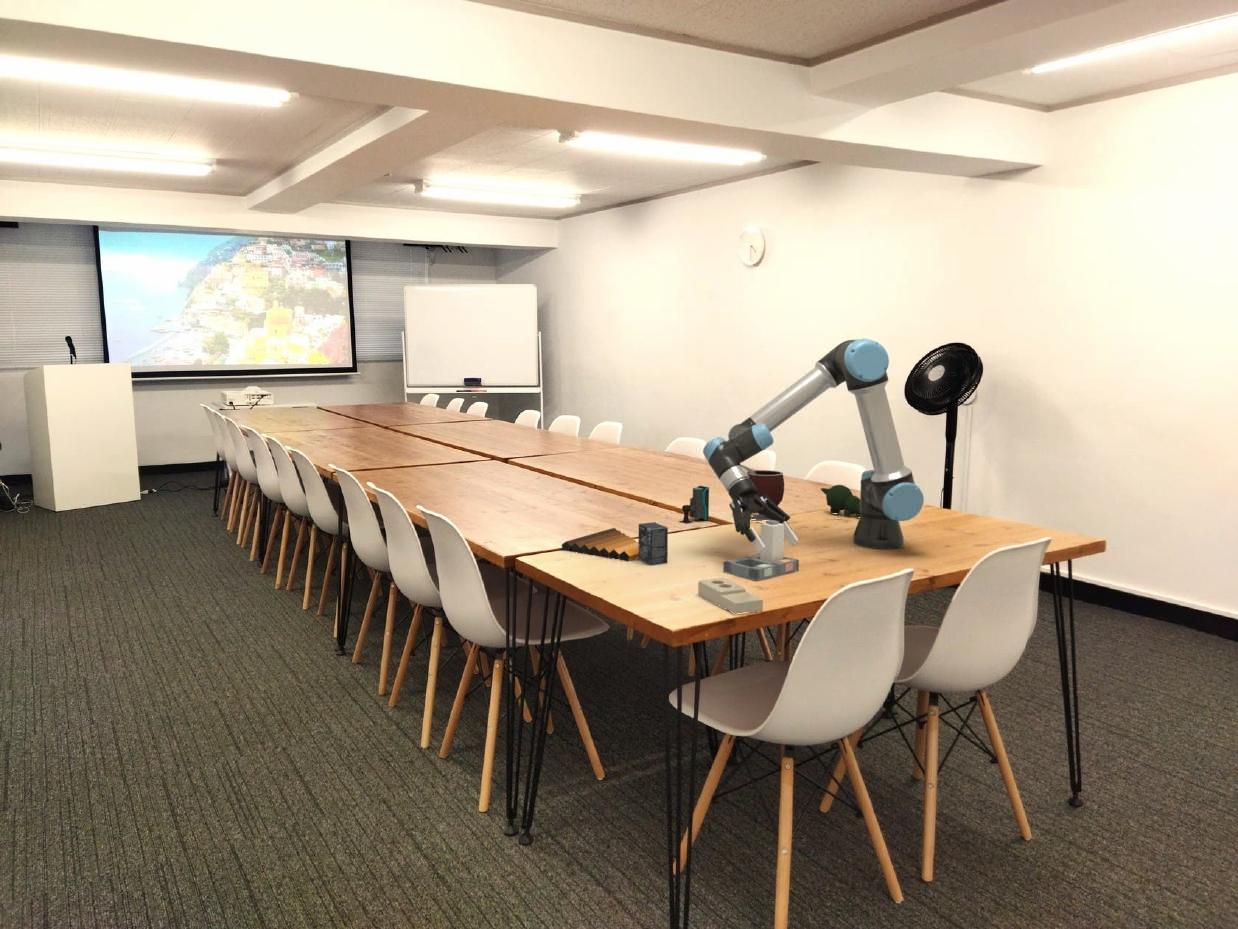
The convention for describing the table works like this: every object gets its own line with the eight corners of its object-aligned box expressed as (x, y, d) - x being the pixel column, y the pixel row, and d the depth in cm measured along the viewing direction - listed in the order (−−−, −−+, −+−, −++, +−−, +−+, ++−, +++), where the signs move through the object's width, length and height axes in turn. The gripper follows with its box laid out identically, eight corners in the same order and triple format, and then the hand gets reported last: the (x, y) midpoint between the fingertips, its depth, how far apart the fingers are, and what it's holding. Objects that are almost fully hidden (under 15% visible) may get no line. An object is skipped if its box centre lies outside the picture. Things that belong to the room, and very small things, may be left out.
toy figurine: (886, 523, 308) (824, 508, 324) (893, 471, 304) (830, 459, 320) (875, 527, 301) (812, 512, 317) (882, 474, 297) (817, 462, 313)
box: (637, 559, 247) (638, 523, 245) (655, 557, 249) (655, 521, 248) (650, 565, 240) (650, 528, 238) (668, 563, 242) (668, 526, 241)
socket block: (765, 562, 243) (765, 551, 243) (799, 570, 234) (799, 559, 234) (723, 572, 233) (723, 560, 232) (757, 581, 223) (757, 569, 223)
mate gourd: (776, 516, 312) (777, 461, 310) (788, 523, 299) (790, 466, 296) (734, 517, 310) (736, 462, 308) (745, 524, 297) (746, 467, 294)
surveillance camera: (677, 487, 301) (699, 485, 306) (677, 521, 302) (699, 518, 308) (687, 489, 296) (709, 487, 302) (687, 524, 298) (709, 521, 303)
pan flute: (610, 537, 279) (561, 551, 259) (610, 527, 278) (561, 540, 258) (675, 547, 265) (629, 563, 244) (675, 536, 264) (629, 551, 244)
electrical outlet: (736, 599, 194) (697, 580, 211) (735, 616, 195) (697, 596, 211) (762, 595, 197) (723, 577, 213) (762, 613, 198) (722, 592, 214)
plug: (770, 563, 239) (771, 518, 238) (783, 567, 236) (784, 521, 234) (759, 566, 236) (760, 520, 235) (772, 569, 233) (773, 523, 231)
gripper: (761, 489, 253) (799, 547, 244) (700, 498, 238) (739, 561, 228) (775, 473, 248) (815, 532, 239) (714, 481, 233) (755, 545, 223)
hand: (778, 546), depth 233 cm, fingers open, 13 cm apart
